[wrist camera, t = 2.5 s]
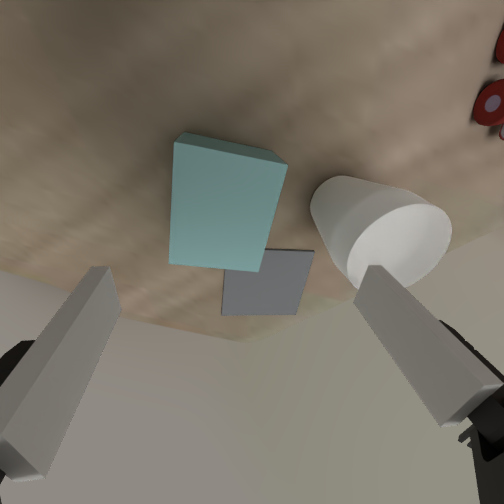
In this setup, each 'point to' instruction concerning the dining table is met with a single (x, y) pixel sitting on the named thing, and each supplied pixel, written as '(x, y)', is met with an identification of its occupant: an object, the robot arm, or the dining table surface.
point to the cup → (379, 229)
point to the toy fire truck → (492, 98)
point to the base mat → (268, 284)
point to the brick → (222, 202)
